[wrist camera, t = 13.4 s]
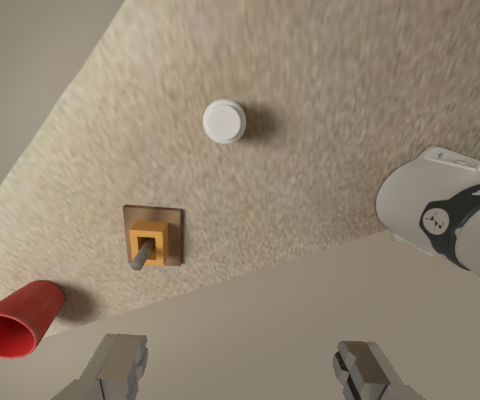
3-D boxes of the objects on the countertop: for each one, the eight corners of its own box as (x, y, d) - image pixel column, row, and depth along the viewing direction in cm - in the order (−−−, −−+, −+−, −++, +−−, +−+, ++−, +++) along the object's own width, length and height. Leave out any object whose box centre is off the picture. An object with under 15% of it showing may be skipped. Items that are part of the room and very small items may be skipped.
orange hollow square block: (167, 222, 40) (162, 231, 37) (168, 254, 43) (163, 266, 39) (137, 220, 40) (129, 229, 37) (140, 253, 42) (132, 264, 39)
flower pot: (84, 296, 47) (49, 340, 38) (52, 321, 49) (11, 367, 40) (39, 264, 44) (-10, 304, 35) (7, 292, 46) (-48, 336, 37)
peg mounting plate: (181, 208, 40) (168, 233, 32) (181, 262, 45) (170, 297, 36) (125, 204, 40) (97, 229, 31) (130, 260, 44) (107, 294, 36)
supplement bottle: (233, 94, 34) (234, 87, 24) (249, 128, 36) (256, 133, 26) (202, 112, 35) (191, 111, 25) (219, 144, 37) (215, 155, 27)
